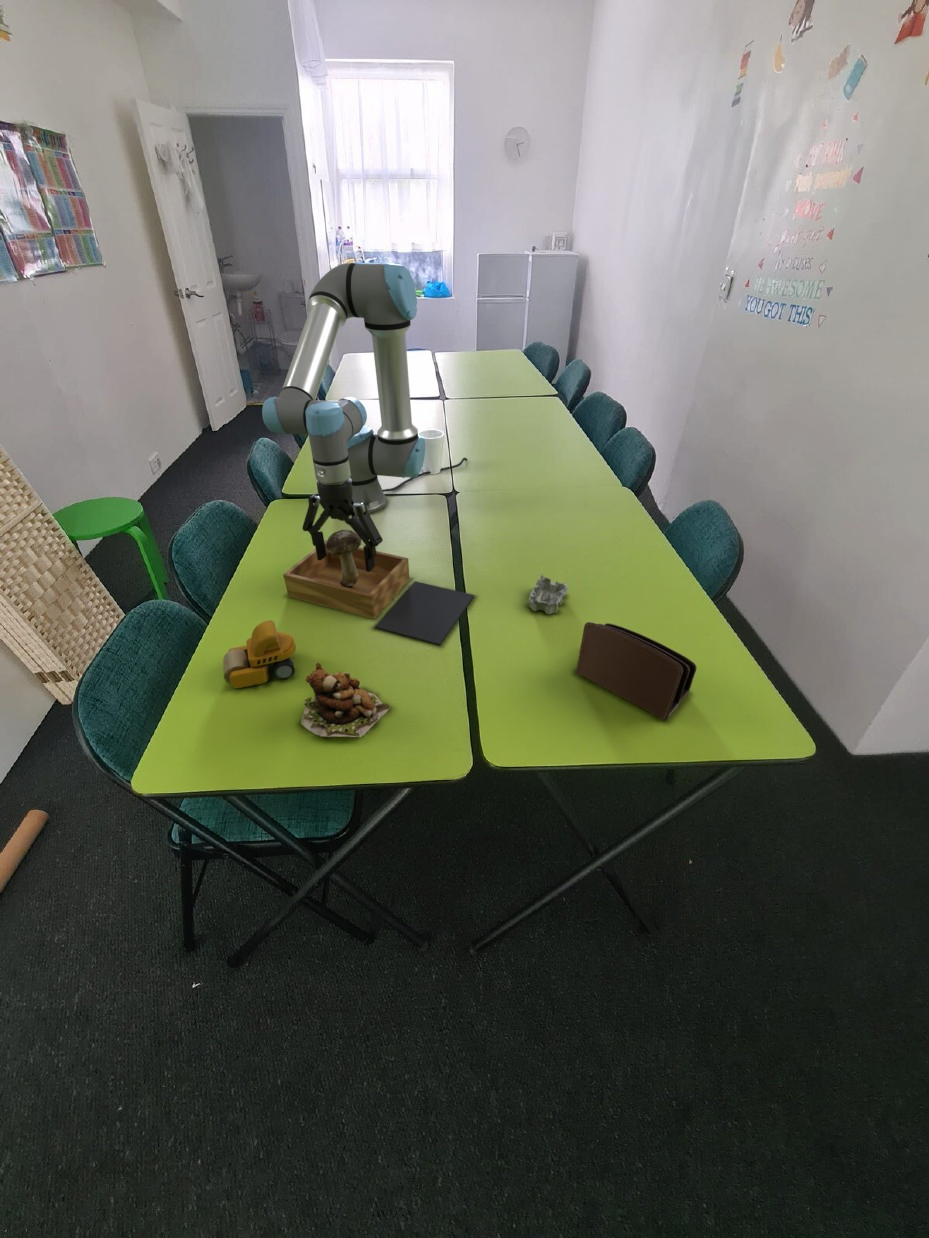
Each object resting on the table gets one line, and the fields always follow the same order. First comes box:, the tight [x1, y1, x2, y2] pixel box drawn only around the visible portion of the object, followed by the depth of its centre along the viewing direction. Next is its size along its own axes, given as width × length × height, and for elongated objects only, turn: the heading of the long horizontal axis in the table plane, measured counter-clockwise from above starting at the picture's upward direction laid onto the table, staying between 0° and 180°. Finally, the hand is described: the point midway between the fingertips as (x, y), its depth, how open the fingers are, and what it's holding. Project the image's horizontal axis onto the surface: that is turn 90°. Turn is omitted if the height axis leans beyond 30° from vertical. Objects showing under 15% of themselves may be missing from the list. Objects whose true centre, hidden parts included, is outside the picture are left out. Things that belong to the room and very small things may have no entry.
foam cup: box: [418, 428, 445, 475], centre depth 194 cm, size 10×9×13 cm
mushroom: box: [326, 529, 362, 588], centre depth 134 cm, size 9×9×15 cm
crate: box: [282, 539, 411, 620], centre depth 137 cm, size 18×24×6 cm
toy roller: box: [222, 619, 297, 689], centre depth 111 cm, size 9×14×10 cm, turn 111°
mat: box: [374, 580, 475, 647], centre depth 130 cm, size 20×16×1 cm
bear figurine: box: [300, 662, 391, 738], centre depth 101 cm, size 14×15×12 cm
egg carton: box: [528, 574, 569, 615], centre depth 132 cm, size 11×8×4 cm
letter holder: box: [575, 621, 698, 722], centre depth 107 cm, size 10×20×14 cm, turn 48°
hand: (346, 563), depth 134 cm, fingers open, 13 cm apart
